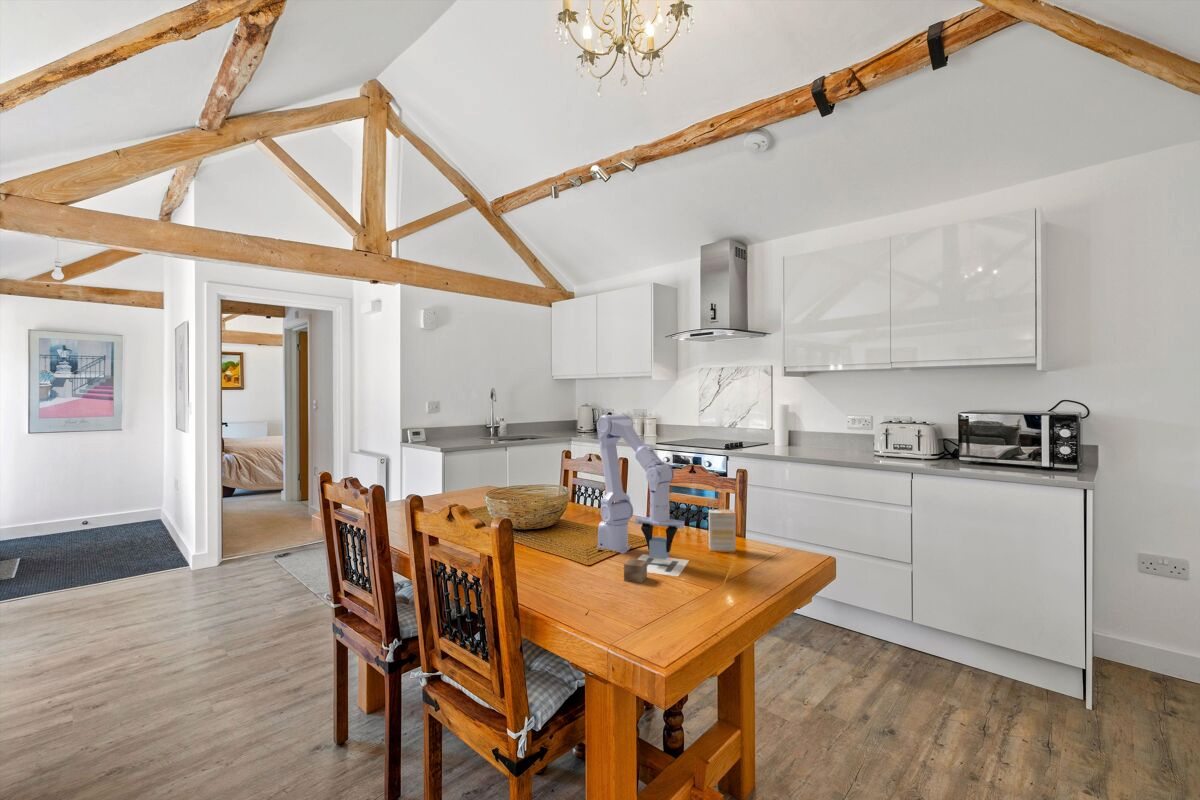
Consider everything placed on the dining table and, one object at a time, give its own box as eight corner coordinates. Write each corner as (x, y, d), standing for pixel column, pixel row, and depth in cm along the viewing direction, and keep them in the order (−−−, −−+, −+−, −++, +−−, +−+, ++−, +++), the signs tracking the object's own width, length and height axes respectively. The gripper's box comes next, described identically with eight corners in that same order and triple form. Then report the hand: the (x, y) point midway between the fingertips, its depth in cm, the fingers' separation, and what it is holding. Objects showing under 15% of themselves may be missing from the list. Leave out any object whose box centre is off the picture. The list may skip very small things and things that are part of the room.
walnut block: (623, 582, 150) (624, 564, 149) (629, 576, 154) (630, 558, 154) (641, 584, 148) (641, 566, 147) (646, 578, 152) (646, 560, 152)
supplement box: (733, 548, 180) (733, 509, 179) (735, 553, 175) (736, 512, 174) (707, 547, 180) (708, 508, 180) (709, 552, 176) (709, 512, 175)
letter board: (627, 570, 158) (627, 569, 158) (642, 555, 172) (642, 554, 172) (678, 577, 153) (678, 576, 153) (689, 561, 167) (689, 560, 167)
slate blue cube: (649, 557, 161) (649, 540, 161) (653, 552, 166) (653, 536, 166) (665, 559, 160) (665, 542, 159) (669, 554, 164) (670, 537, 164)
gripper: (632, 505, 161) (631, 551, 161) (680, 509, 156) (680, 556, 156) (639, 500, 167) (639, 544, 168) (686, 504, 162) (685, 549, 163)
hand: (659, 550), depth 162 cm, fingers closed on slate blue cube, 5 cm apart
